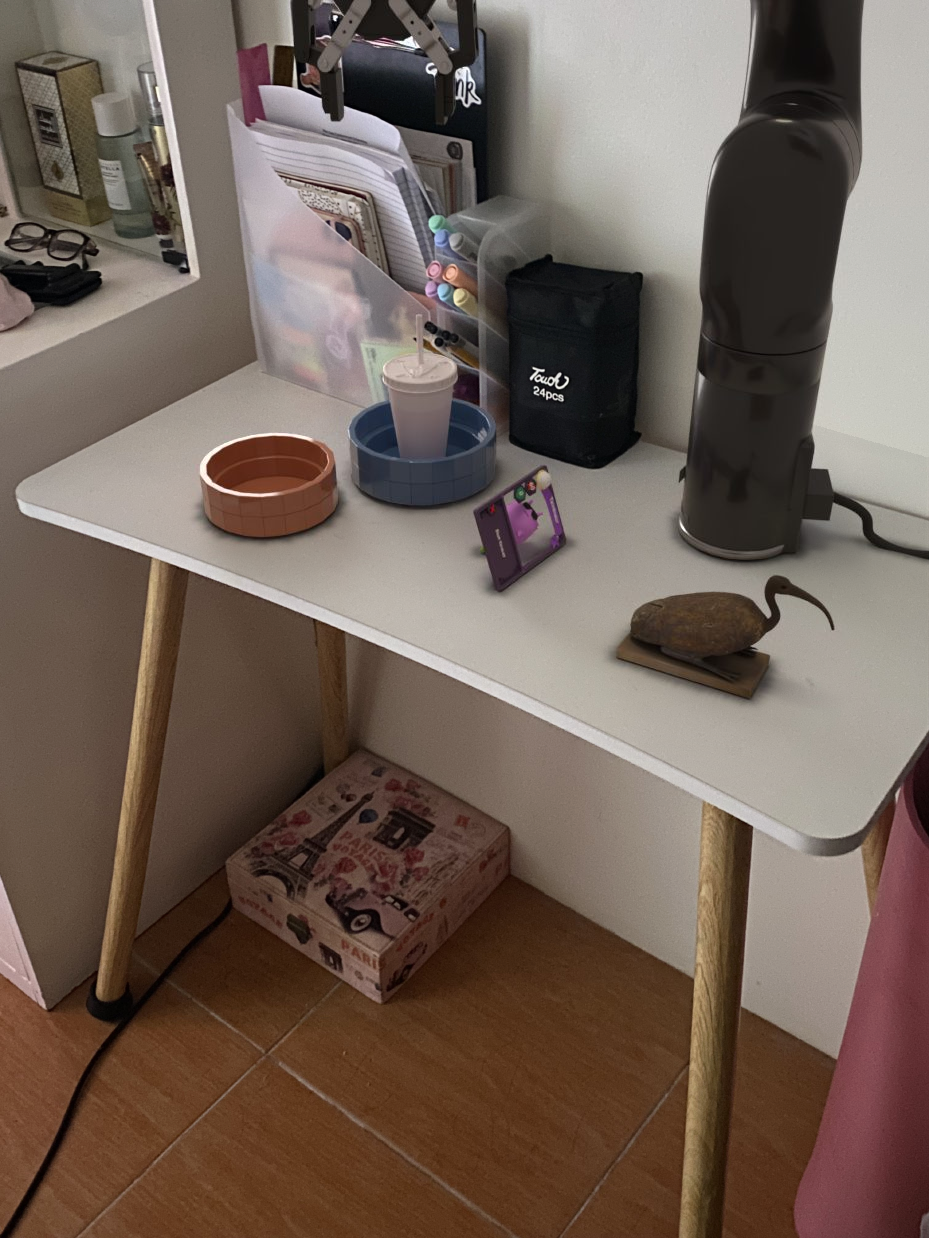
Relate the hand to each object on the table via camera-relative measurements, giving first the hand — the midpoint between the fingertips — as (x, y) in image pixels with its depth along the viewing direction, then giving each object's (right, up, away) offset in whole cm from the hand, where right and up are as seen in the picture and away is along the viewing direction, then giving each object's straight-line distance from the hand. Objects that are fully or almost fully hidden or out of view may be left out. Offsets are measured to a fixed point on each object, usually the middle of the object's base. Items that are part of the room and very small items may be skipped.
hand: (389, 121), depth 98 cm
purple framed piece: (+10, -35, -1) cm, 37 cm away
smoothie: (+2, -27, +10) cm, 29 cm away
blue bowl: (+2, -27, +10) cm, 29 cm away
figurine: (+24, -44, -13) cm, 52 cm away
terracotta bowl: (-10, -30, +6) cm, 33 cm away
